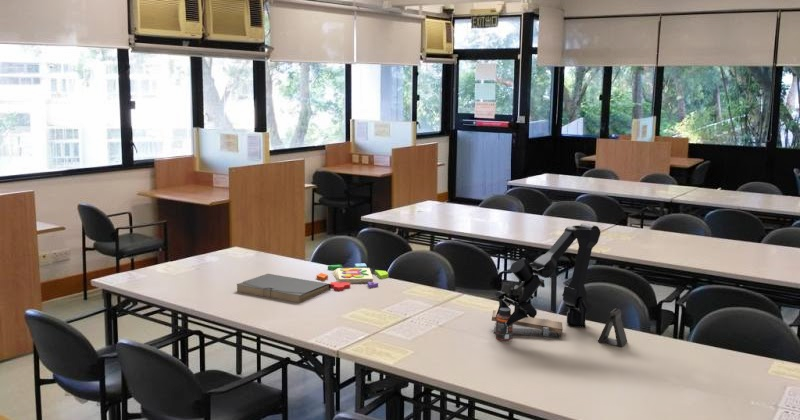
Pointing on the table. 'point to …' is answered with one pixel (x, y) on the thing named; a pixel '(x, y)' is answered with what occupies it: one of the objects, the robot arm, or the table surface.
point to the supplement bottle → (503, 325)
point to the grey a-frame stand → (615, 320)
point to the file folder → (283, 287)
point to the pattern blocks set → (351, 276)
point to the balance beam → (536, 323)
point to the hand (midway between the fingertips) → (501, 322)
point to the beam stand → (532, 331)
